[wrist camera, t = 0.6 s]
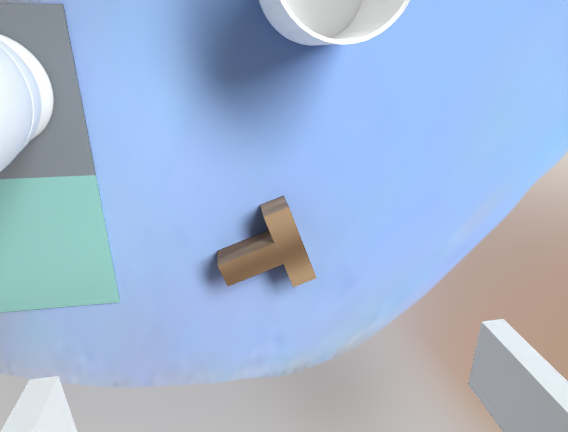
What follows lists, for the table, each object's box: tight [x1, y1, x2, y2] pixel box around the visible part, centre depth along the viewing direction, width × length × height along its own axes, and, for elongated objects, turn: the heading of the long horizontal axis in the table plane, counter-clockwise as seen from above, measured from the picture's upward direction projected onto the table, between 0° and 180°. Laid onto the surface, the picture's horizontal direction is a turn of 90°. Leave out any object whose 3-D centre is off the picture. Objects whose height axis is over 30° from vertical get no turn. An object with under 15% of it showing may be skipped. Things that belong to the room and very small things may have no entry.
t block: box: [217, 196, 316, 287], centre depth 38 cm, size 8×8×3 cm
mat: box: [0, 3, 120, 312], centre depth 33 cm, size 26×12×1 cm, turn 0°
